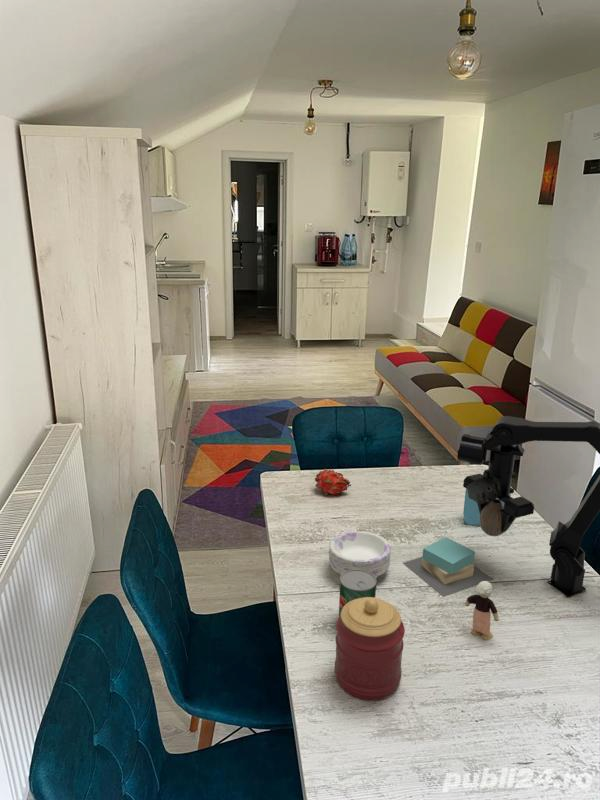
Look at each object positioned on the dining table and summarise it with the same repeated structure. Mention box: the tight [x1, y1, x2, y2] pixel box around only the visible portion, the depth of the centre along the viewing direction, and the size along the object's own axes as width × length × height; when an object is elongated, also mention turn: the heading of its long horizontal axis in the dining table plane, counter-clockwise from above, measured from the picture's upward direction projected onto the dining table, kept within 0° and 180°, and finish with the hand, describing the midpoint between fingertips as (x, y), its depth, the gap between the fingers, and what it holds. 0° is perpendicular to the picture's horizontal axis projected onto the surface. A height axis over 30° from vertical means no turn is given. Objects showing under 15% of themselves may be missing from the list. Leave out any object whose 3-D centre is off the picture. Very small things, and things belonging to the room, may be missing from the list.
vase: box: [479, 499, 505, 537], centre depth 151 cm, size 7×7×9 cm
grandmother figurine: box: [464, 581, 500, 641], centre depth 130 cm, size 8×4×13 cm, turn 59°
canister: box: [334, 597, 406, 701], centre depth 116 cm, size 13×13×18 cm
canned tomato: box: [338, 569, 377, 616], centre depth 133 cm, size 8×8×11 cm
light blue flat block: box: [462, 488, 512, 527], centre depth 176 cm, size 12×4×12 cm, turn 79°
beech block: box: [421, 555, 475, 585], centre depth 153 cm, size 9×9×3 cm
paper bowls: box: [328, 530, 392, 579], centre depth 152 cm, size 15×15×8 cm
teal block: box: [421, 536, 476, 575], centre depth 152 cm, size 9×9×3 cm
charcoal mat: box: [402, 556, 494, 598], centre depth 153 cm, size 16×16×1 cm
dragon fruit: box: [314, 468, 352, 497], centre depth 195 cm, size 8×8×12 cm
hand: (493, 525), depth 152 cm, fingers closed on vase, 7 cm apart
